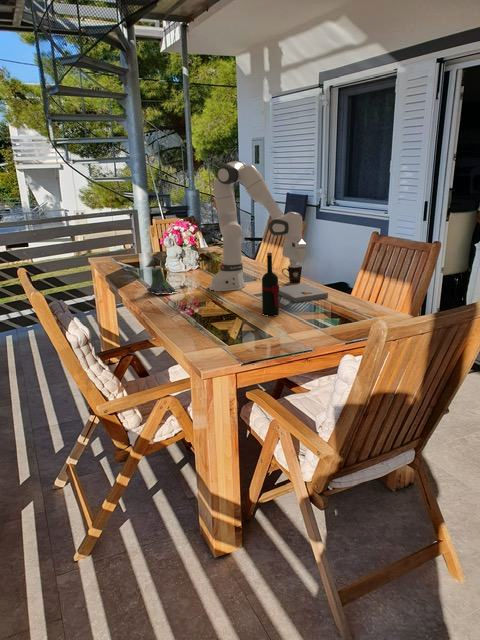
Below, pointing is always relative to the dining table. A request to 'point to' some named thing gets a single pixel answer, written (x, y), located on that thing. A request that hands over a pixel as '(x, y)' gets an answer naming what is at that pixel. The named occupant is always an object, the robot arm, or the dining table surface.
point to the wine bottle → (270, 290)
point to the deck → (301, 292)
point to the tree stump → (159, 282)
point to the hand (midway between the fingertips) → (292, 267)
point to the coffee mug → (294, 273)
